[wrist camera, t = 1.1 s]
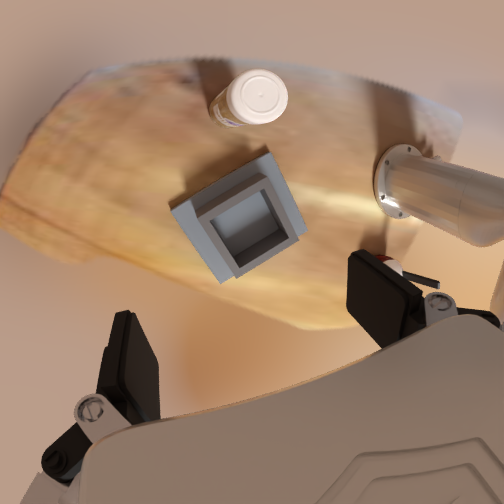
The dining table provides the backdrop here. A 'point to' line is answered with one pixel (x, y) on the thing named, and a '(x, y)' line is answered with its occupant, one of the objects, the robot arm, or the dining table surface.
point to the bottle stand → (241, 218)
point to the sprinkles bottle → (250, 99)
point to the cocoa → (409, 276)
